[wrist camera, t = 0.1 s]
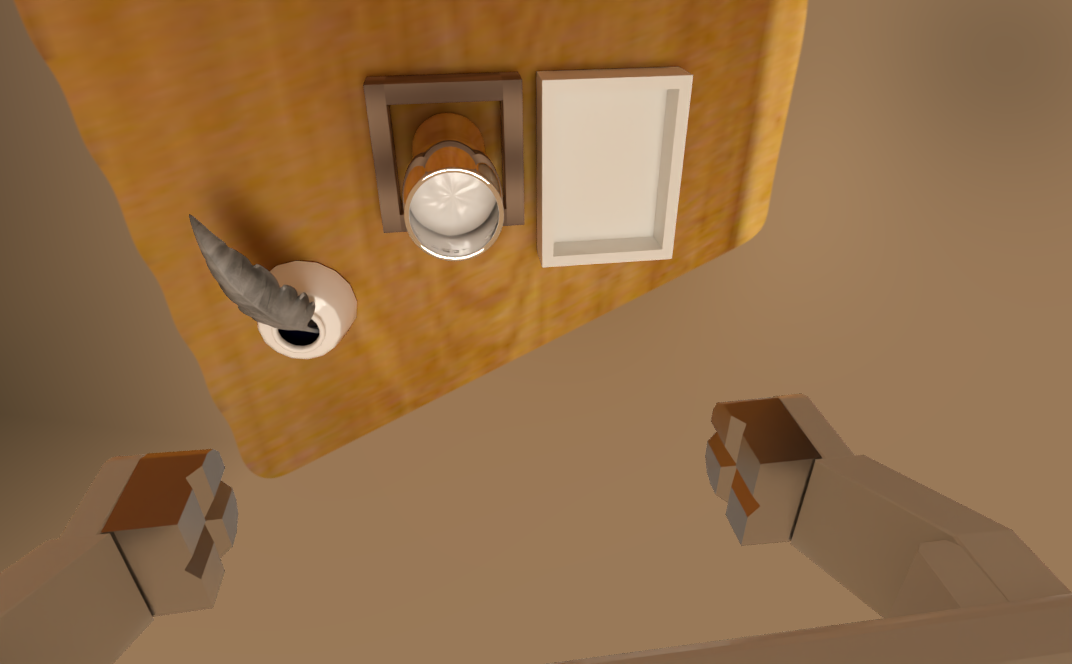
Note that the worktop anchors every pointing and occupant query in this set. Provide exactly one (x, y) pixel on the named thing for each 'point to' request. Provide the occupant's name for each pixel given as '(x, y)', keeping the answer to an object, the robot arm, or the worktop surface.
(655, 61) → the worktop surface
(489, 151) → the worktop surface
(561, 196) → the cream white tray
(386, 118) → the walnut collar
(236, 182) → the worktop surface
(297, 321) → the inkwell
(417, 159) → the beer glass
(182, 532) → the robot arm
